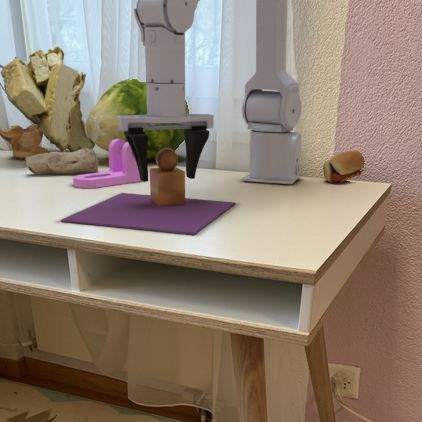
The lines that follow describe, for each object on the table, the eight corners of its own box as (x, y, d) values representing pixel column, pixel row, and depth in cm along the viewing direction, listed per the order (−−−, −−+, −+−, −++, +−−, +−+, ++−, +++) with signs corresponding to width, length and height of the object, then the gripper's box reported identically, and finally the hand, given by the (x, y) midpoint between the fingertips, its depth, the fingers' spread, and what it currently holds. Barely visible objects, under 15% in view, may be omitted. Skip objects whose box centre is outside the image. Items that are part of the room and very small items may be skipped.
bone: (47, 154, 143) (44, 116, 139) (64, 159, 136) (62, 119, 132) (-4, 156, 136) (-8, 116, 132) (12, 162, 129) (8, 119, 125)
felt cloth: (235, 204, 97) (235, 202, 97) (194, 235, 80) (194, 232, 80) (121, 194, 102) (121, 192, 102) (61, 221, 85) (60, 219, 85)
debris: (92, 153, 149) (132, 115, 145) (73, 175, 123) (122, 130, 119) (13, 62, 139) (54, 19, 135) (-26, 64, 113) (24, 12, 109)
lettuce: (91, 184, 132) (60, 110, 131) (176, 167, 145) (148, 100, 144) (122, 145, 117) (87, 62, 117) (214, 130, 130) (183, 55, 129)
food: (365, 143, 121) (375, 166, 121) (342, 158, 124) (352, 180, 125) (337, 151, 110) (349, 176, 111) (313, 166, 114) (325, 190, 115)
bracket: (125, 176, 117) (124, 138, 114) (143, 180, 114) (142, 141, 110) (67, 184, 109) (64, 143, 106) (84, 189, 106) (81, 147, 102)
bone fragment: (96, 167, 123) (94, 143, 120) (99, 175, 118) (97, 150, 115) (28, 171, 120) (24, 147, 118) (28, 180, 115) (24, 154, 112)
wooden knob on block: (176, 198, 99) (175, 145, 95) (185, 204, 95) (185, 149, 91) (150, 200, 97) (148, 146, 93) (158, 206, 94) (157, 150, 90)
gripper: (202, 81, 94) (201, 172, 100) (110, 81, 89) (116, 177, 95) (219, 83, 88) (217, 179, 94) (122, 83, 83) (127, 185, 90)
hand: (167, 179), depth 94 cm, fingers open, 7 cm apart
